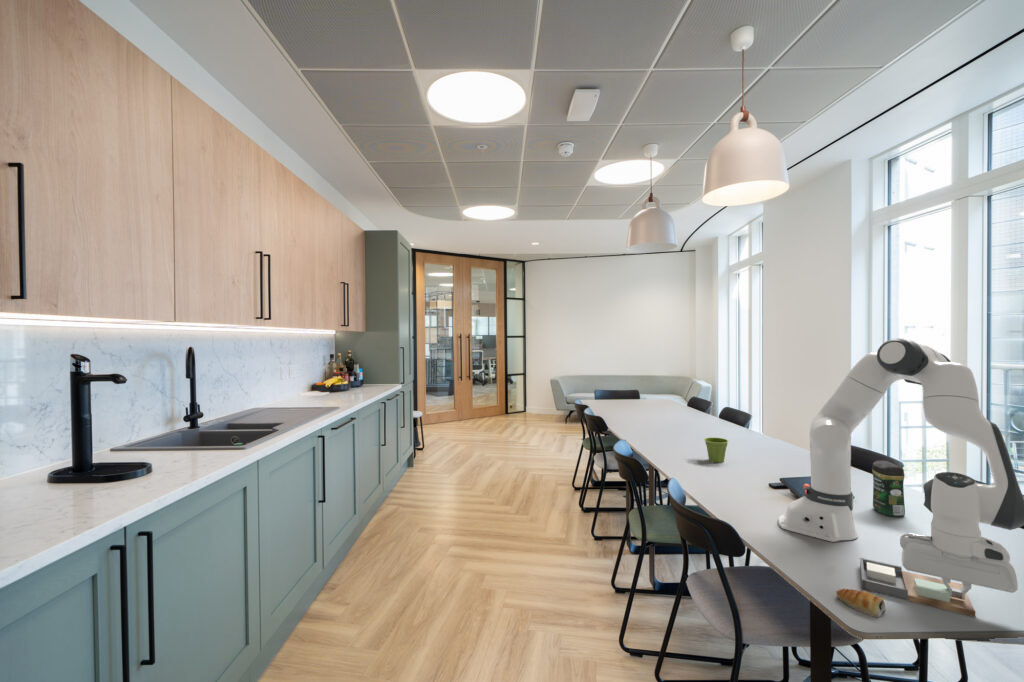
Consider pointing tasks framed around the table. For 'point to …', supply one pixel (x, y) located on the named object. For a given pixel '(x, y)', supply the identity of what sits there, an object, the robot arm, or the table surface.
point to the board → (953, 605)
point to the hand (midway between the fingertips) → (956, 597)
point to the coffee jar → (888, 488)
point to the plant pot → (716, 449)
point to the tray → (880, 585)
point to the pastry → (862, 601)
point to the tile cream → (881, 572)
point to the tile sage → (931, 590)
